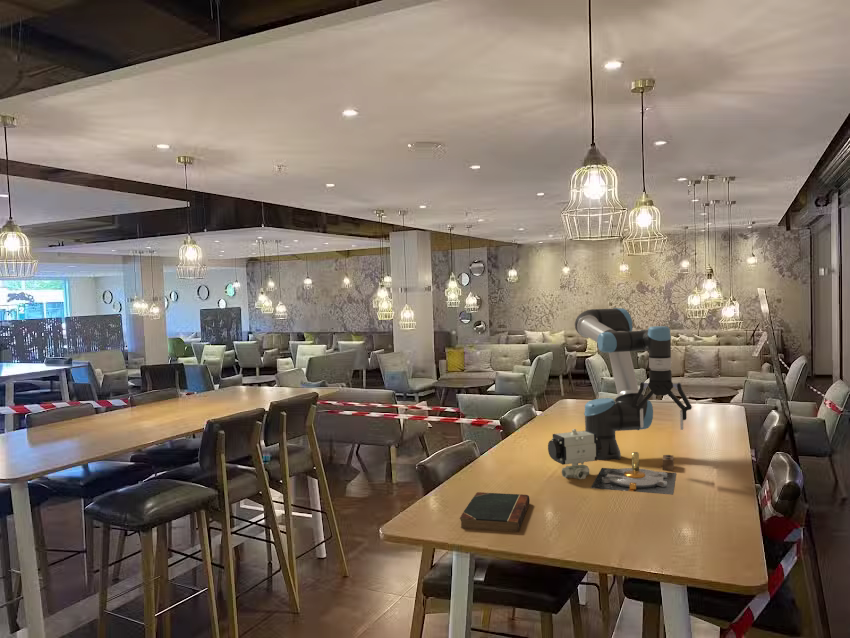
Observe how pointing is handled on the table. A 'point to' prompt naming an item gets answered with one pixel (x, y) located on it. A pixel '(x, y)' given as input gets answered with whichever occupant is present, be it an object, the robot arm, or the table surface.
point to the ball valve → (574, 451)
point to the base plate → (656, 489)
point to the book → (495, 511)
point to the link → (668, 462)
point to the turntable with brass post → (635, 476)
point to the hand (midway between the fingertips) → (661, 428)
